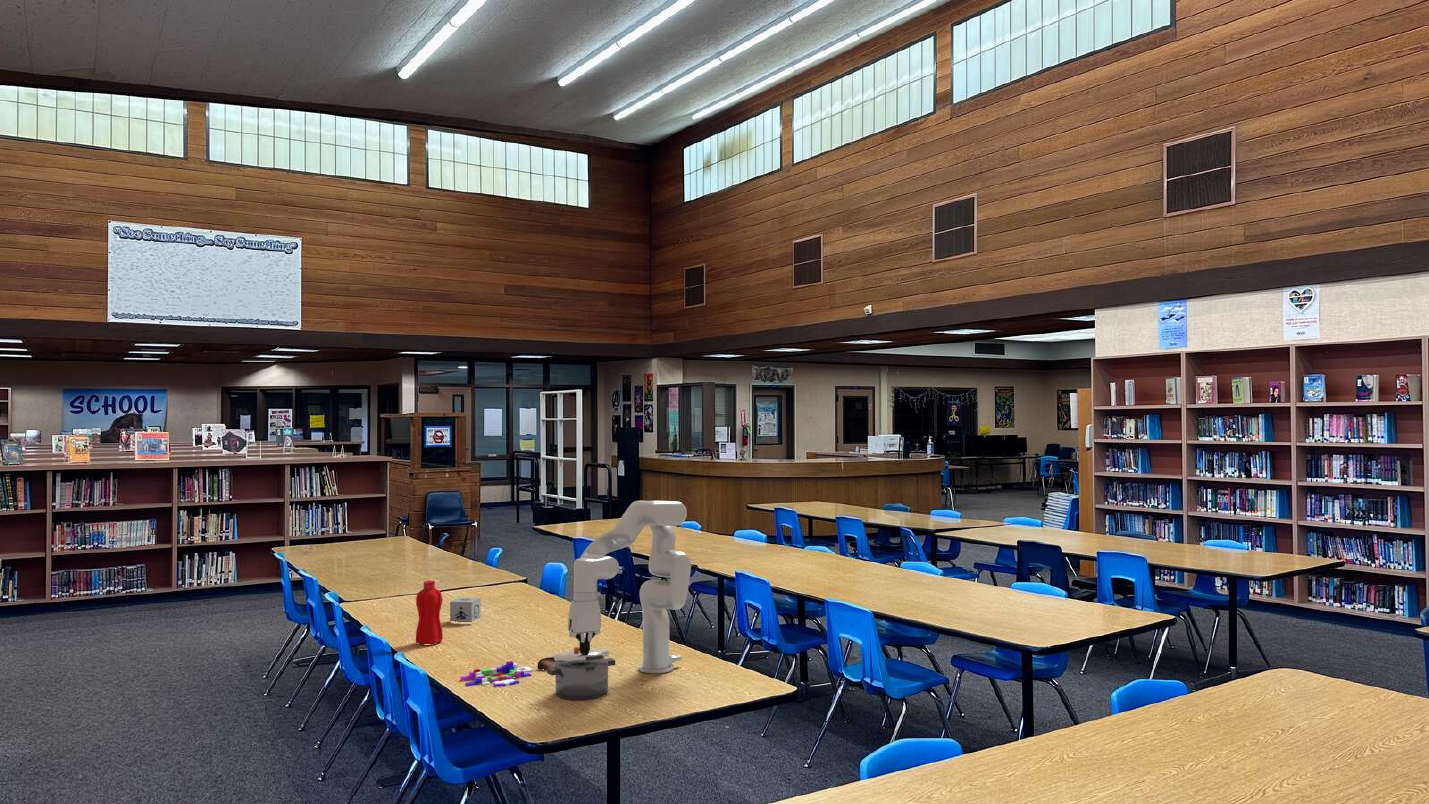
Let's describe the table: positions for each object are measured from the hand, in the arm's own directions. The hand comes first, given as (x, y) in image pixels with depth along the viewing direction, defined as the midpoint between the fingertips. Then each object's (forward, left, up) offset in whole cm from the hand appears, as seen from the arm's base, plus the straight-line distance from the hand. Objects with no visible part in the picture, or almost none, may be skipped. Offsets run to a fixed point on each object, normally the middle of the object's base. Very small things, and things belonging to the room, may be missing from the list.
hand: (584, 653), depth 292 cm
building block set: (+15, -35, -14) cm, 41 cm away
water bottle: (+22, -100, -14) cm, 104 cm away
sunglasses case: (-9, -38, -14) cm, 42 cm away
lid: (-1, -2, -2) cm, 3 cm away
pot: (-1, -3, -13) cm, 14 cm away
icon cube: (-3, -131, -14) cm, 132 cm away
